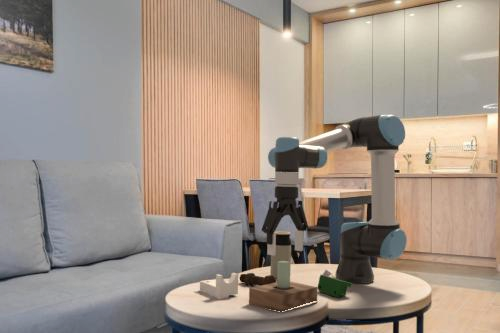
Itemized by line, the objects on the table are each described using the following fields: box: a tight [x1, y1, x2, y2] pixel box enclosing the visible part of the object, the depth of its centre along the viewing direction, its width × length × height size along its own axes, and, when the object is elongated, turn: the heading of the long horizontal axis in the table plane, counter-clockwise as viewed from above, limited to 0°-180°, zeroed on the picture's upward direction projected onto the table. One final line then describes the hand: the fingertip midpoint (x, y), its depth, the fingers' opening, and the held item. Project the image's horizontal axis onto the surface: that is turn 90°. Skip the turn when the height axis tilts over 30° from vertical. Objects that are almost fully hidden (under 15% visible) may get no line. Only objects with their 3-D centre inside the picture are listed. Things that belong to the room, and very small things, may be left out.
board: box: [248, 280, 318, 312], centre depth 152 cm, size 18×13×5 cm
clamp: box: [317, 274, 353, 298], centre depth 167 cm, size 12×6×9 cm, turn 21°
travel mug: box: [269, 230, 292, 279], centre depth 194 cm, size 8×8×18 cm
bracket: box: [199, 272, 239, 300], centre depth 163 cm, size 13×7×8 cm, turn 36°
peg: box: [276, 261, 291, 290], centre depth 152 cm, size 4×4×12 cm
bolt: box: [239, 272, 277, 286], centre depth 176 cm, size 6×5×15 cm
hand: (285, 252), depth 152 cm, fingers open, 13 cm apart
